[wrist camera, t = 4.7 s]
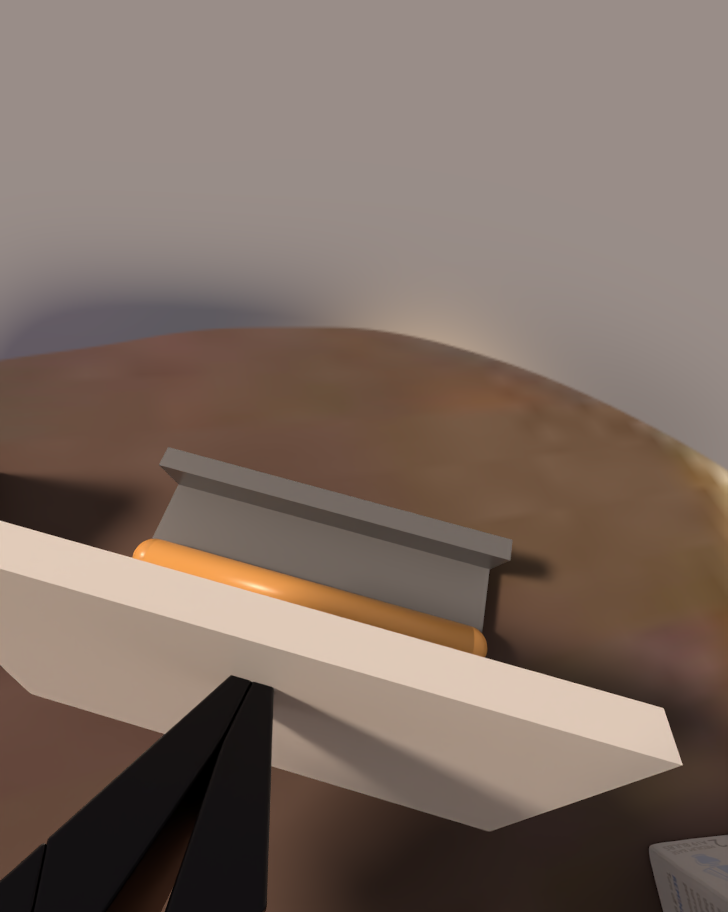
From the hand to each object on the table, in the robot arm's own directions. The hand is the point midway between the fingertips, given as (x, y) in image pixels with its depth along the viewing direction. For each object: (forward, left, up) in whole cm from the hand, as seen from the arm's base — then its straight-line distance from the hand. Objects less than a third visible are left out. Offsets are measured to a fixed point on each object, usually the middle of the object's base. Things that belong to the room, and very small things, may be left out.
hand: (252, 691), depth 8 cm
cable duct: (+2, -1, -9) cm, 9 cm away
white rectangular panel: (0, 0, -2) cm, 2 cm away
